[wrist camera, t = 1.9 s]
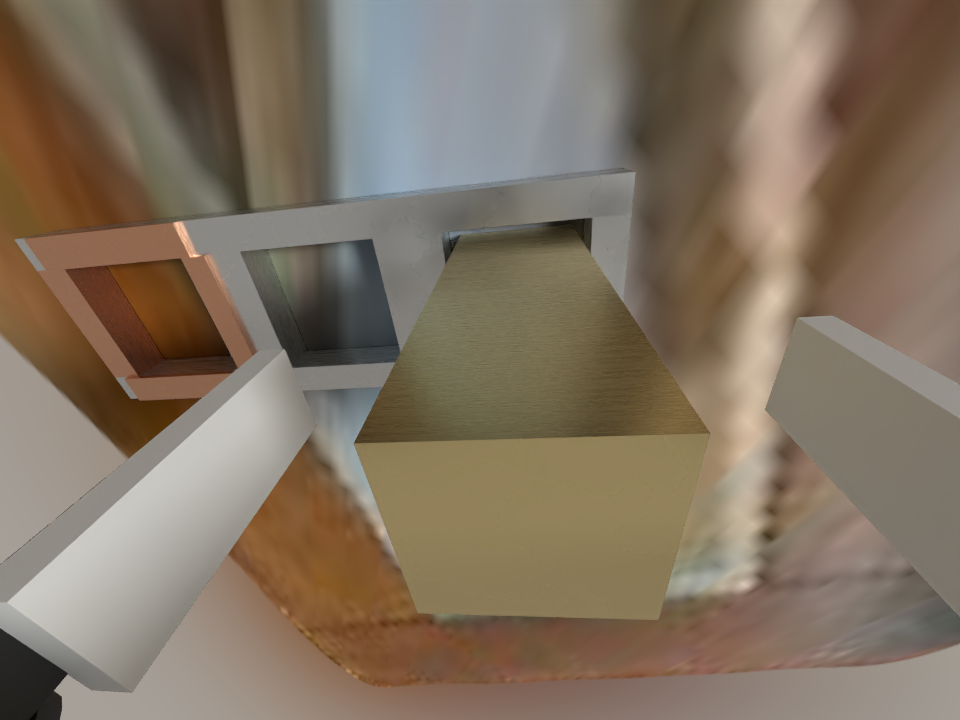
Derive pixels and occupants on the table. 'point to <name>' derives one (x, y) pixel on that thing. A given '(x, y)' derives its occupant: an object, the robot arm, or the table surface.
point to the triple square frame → (249, 233)
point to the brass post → (532, 440)
